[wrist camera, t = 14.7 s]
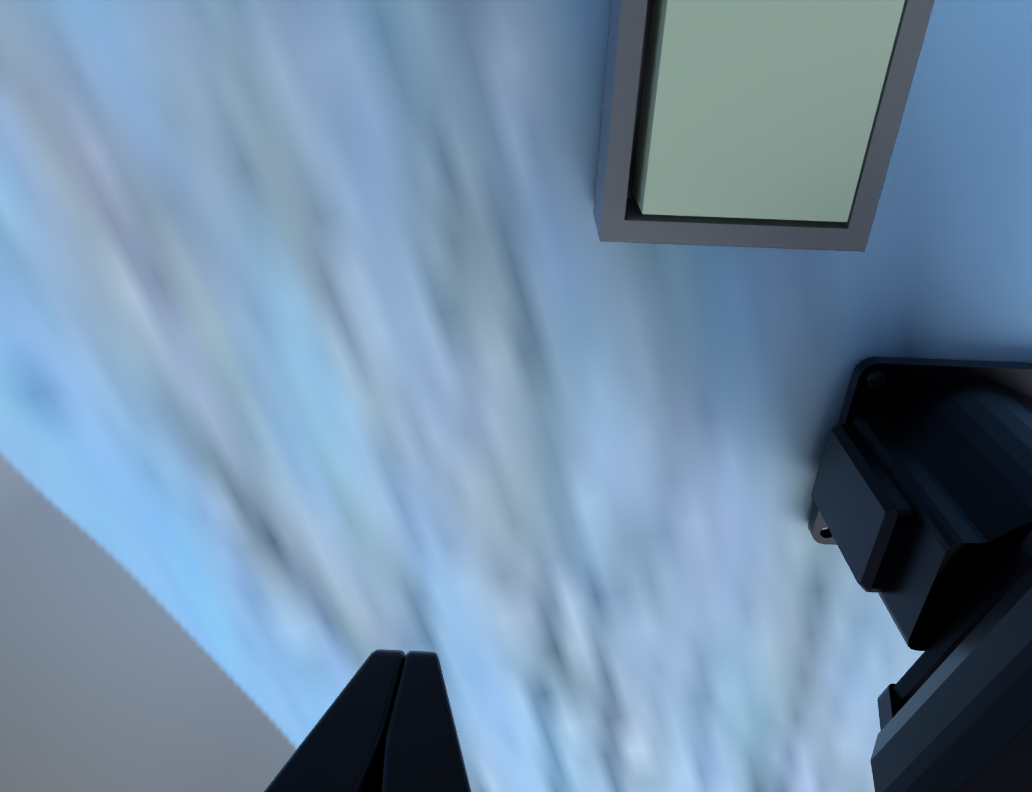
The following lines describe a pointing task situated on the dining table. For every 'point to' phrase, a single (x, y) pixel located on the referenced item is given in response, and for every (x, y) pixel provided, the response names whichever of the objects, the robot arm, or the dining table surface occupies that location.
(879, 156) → the button housing
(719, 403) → the dining table surface
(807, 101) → the button
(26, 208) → the dining table surface
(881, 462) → the robot arm
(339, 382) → the dining table surface
